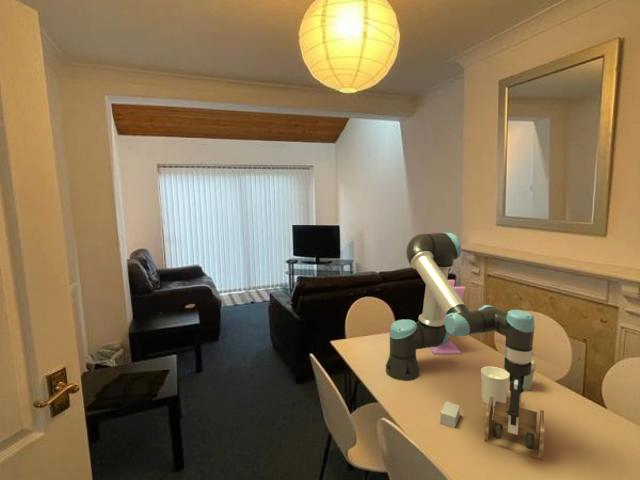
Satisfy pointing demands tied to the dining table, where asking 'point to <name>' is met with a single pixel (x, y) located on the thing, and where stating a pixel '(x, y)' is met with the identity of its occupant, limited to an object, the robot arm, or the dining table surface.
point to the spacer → (450, 414)
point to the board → (525, 417)
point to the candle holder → (494, 384)
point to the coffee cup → (529, 378)
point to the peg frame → (514, 436)
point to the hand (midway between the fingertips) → (514, 420)
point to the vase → (449, 346)
